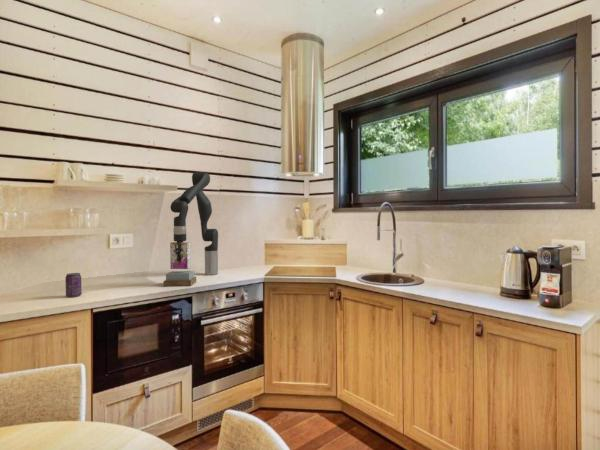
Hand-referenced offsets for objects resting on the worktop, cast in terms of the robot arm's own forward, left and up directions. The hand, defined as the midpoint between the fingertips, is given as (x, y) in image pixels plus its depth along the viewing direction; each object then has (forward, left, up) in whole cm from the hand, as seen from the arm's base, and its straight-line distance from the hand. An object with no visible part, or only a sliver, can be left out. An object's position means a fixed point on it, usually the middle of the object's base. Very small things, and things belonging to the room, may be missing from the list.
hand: (180, 260), depth 220 cm
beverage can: (+29, -48, -15) cm, 58 cm away
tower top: (0, 0, -11) cm, 11 cm away
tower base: (+1, 0, -15) cm, 15 cm away
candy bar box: (0, 0, -5) cm, 5 cm away
